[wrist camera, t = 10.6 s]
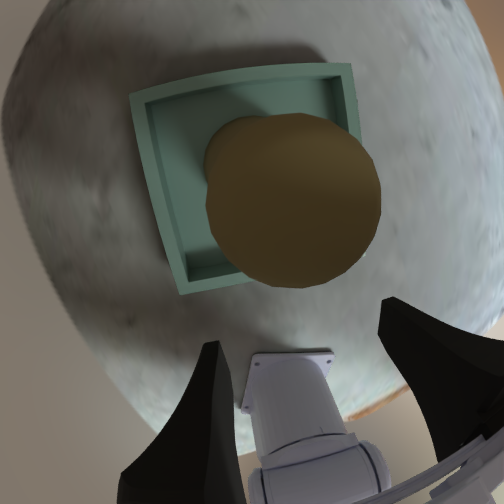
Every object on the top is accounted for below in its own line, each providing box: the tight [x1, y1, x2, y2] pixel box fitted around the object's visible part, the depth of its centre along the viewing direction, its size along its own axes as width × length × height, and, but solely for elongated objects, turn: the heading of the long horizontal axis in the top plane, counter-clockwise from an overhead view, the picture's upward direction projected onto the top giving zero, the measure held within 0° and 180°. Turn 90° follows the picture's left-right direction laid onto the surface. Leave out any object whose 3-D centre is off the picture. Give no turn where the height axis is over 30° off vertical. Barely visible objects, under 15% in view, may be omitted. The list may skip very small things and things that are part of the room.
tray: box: [128, 63, 366, 295], centre depth 16 cm, size 13×13×2 cm
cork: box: [203, 113, 381, 288], centre depth 12 cm, size 6×6×11 cm
